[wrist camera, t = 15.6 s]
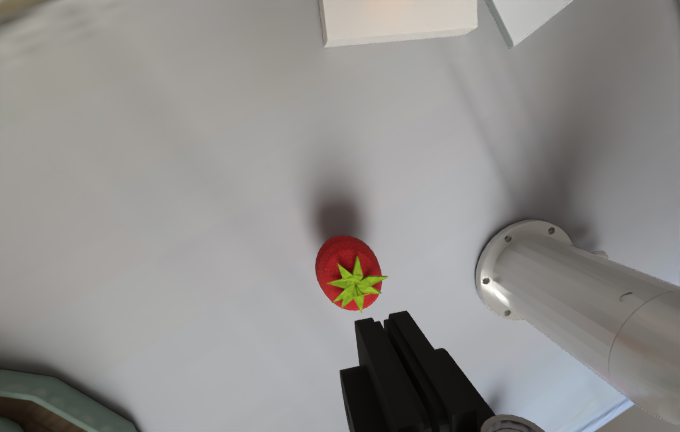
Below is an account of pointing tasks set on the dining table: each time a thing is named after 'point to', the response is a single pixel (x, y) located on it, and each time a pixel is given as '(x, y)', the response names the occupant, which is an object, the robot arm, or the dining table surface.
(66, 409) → the tea set
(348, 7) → the socket
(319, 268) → the strawberry
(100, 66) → the dining table surface
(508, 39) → the external hard drive
